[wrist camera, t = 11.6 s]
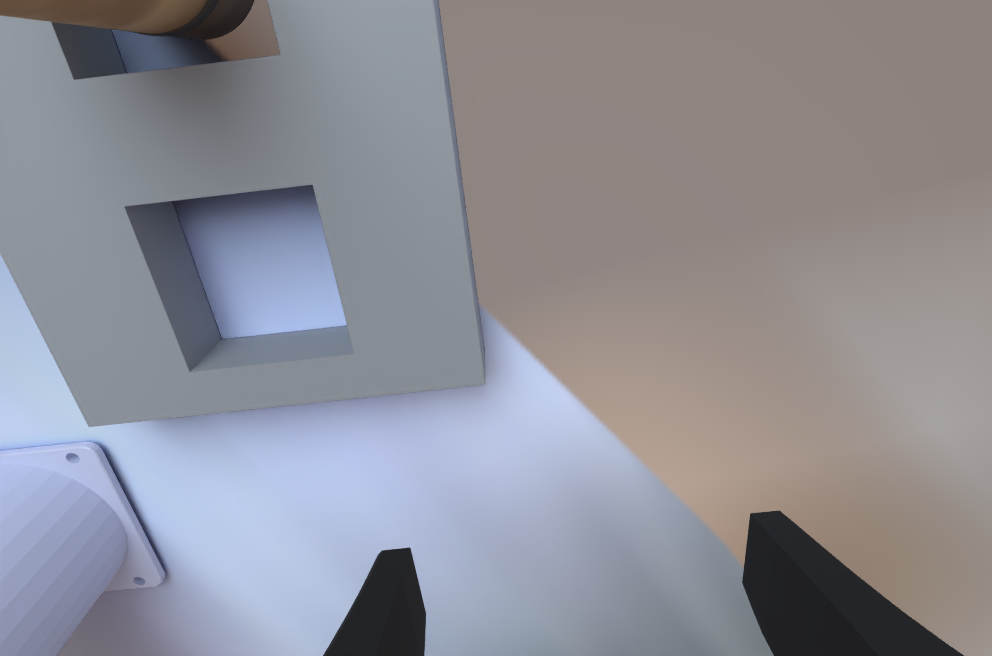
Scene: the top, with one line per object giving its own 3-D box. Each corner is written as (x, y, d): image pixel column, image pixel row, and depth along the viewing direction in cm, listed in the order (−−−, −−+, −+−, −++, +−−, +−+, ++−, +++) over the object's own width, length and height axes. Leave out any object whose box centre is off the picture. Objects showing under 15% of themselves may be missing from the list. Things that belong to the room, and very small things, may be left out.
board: (130, 389, 21) (89, 426, 19) (-146, -215, 14) (-268, -272, 12) (484, 351, 21) (485, 384, 19) (400, -290, 14) (384, -362, 11)
